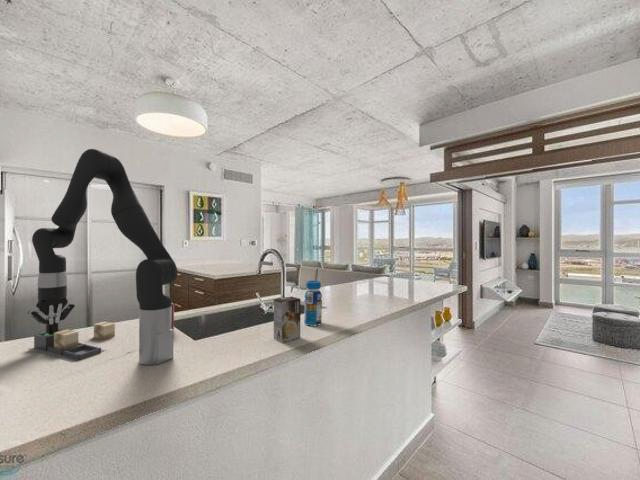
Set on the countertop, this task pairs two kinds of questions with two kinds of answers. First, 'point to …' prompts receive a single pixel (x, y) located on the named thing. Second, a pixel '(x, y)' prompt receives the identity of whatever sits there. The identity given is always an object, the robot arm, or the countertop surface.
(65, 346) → the block
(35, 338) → the grey compartment tray
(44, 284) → the robot arm
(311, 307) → the beverage bottle
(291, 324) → the coffee box
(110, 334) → the loose billet
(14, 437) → the countertop surface
